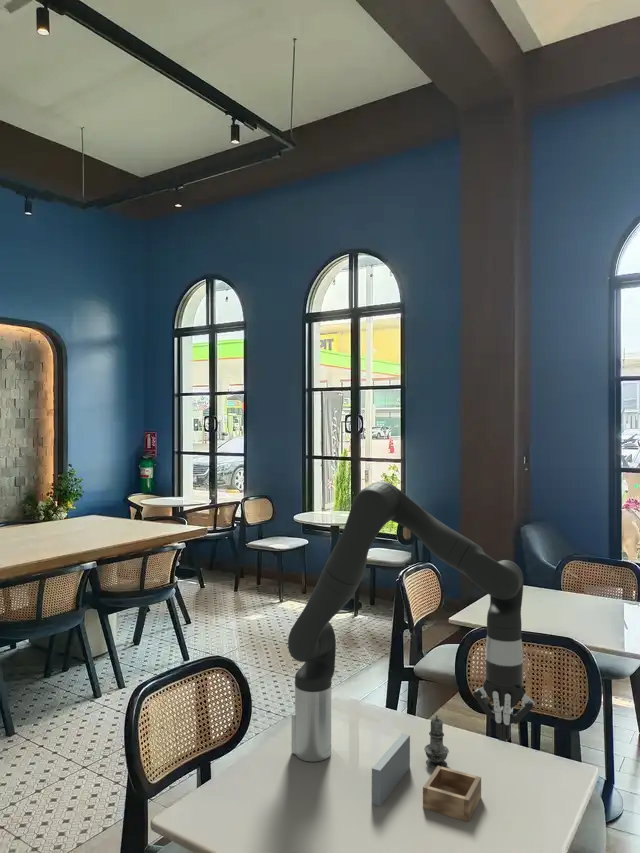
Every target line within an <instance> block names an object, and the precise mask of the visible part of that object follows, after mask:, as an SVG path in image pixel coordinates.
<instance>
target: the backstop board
mask: <svg viewBox="0 0 640 853" xmlns="http://www.w3.org/2000/svg"><path fill="white" fill-rule="evenodd" d="M410 768H411V735H410V734H406V733H403V732H402V733H401V734H400V735H399V736H398V737H397V739H396V740H395V741H394V742H393V743H392V744H391V746H389V748H388V749H387V750H386V751H385V752H384V753H383V755H382V756H381V757H380V758H379V759H378V760H377V761H376V763H375V764H374V765H373V766H372V767H371V805H374V806H376V807H382V805H383V803H384V802H385V801H386V800H387V799H388V797H389V796H390V795H391V793H392V792H393V790H394V789H395V788H396V786H398V784H399V782H401V780H402V779H403V778H404V776H405V775H406V773H407V772H408V771H409V769H410Z"/></svg>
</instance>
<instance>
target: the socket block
mask: <svg viewBox="0 0 640 853" xmlns="http://www.w3.org/2000/svg"><path fill="white" fill-rule="evenodd" d="M481 799H482V776H478V775H474V774H470V773H467V772H463V771H459V770H455V769H452V768H448V767H441V766H437V767H436V769H433V771H432V773H431V775H430V776H429V778H428V779H427V781H426V782H425V784H424V785H423V787H422V809H425V810H429V811H431V812H435V813H438V814H441V815H445V816H447V817H451V818H455V819H458V820H461V821H464V822H468V823H469V822H470V820H471V818H472V816H473V814H474V812H475V810H476V808H477V807H478V804H479V803H480V801H481Z"/></svg>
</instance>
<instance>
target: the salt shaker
mask: <svg viewBox="0 0 640 853" xmlns="http://www.w3.org/2000/svg"><path fill="white" fill-rule="evenodd" d="M434 716H435V717H434V718H432V719H431V720H430V731H429V732H428V735H429V737H430V738H429V739H430V740H429V741H430V742H429V744H427V745H425V746H424V752H425V755H426V758H427V760H425V764H426V766H427V767H428V768H431V769H433V770H435V769H436V767H437V766H441V767H445V768H447V766H448V762H447V761H446V759H447V758H448V754H449V753H450V751H449V748H448V747H447V746H445V745H444V737H445V733H444V732H443V727H444V726H443V720H441V719H440V718H439V716H438V715H434Z"/></svg>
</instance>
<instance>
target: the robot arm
mask: <svg viewBox="0 0 640 853" xmlns="http://www.w3.org/2000/svg"><path fill="white" fill-rule="evenodd" d="M389 522H393V523H396V524H398V525H400V526H402V527H404V528H406V529H407V530H408V531H410V532H411V533H412V534H414V535H415V536H416V537H417V538H418V540H420V542H421V543H422V544H423V545H424V546H425V547H426V548H427V549H428V551H430V553H432V554H433V555H434V556H435V557H436V558H438V559H439V560H440V561H442V562H443V563H445V564H446V565H449V566H450V567H452V568H453V569H455V570H457V571H458V572H460V573H462V574H463V575H465V577H467V578H468V579H469V580H470V581H471V582H472V583H474V584H475V585H476V586H477V587H478V588H480V589H481V590H482V591H483V592H484V593H486V594H488V595H490V596H489V599H490V600H489V601H490V602H489V603H490V604H489V607H488V610H487V615H486V639H485V680H484V682H483V685H482V686H481V687H477V688H476V689H475V691H474V692H473V697H474V699H475V700H476V701H477V703H478V704H479V707H481V708H480V709H482V710H483V712H484V713H485V715H486V717H487V718H488V719H493V720H494V722H495V735H496V737H497V738H498V741H499V742H500V741H501V742H505V743H506V742H508V741H509V740H510V738H511V736H512V725H513V724H515V725H518V723H520V721H522V719H523V718H524V717H525V716H526V715H528V713H529V712H530V711H532V709H534V706H535V704H536V701H535V699H534V698H530V697H529V696H528V695H527V694H526V689H525V688H524V685H523V684H524V683H523V680H524V679H523V678H524V677H523V675H524V674H523V673H524V672H523V670H524V669H523V667H524V666H523V663H524V662H523V659H524V652H523V642H522V603H523V594H524V593H523V592H524V575H523V570H522V569H521V567H520V566H518V564H517V563H515V562H514V561H512V560H509V559H503V560H499V561H497V560H495V559H493V557H491V556H489V555H488V554H487V553H485V551H484V548H482V547H481V546H480V545H479V544H477V543H475V541H473V540H471V539H469V538H467V537H466V536H464V535H463V534H461V533H459V532H458V531H455V530H454V529H452V528H451V527H449V526H447V525H446V524H444V523H443V522H442V521H440V520H439V519H437V518H435V517H434V516H433V515H432V514H431V513H429V512H428V511H426V510H425V509H424V508H422V506H420V505H419V504H417V503H416V502H415V501H414V500H412V499H411V498H410V497H409V496H408V495H407V494H405V493H404V492H403V491H402V490H400V489H399V488H398V487H397V486H395V485H394V484H392V483H390V482H388V481H384V480H383V481H381V480H380V481H376V482H373V483H371V484H369V485H368V486H366V487H364V488H363V489H361V490H360V491H359V492H358V493H357V495H356V496H355V498H354V499H353V502H352V504H351V507H350V510H349V514H348V516H347V519H346V522H345V525H344V528H343V530H342V533H341V534H340V536H339V539H338V540H337V542H336V544H335V545H334V547H333V550H332V551H331V553H330V555H329V557H328V559H327V561H326V563H325V566H324V568H323V569H322V571H321V574H320V576H319V578H318V581H317V583H316V585H315V587H314V589H313V591H312V593H311V594H310V597H309V598H308V600H307V603H306V604H305V606H304V608H303V610H302V611H301V613H300V614H299V616H298V617H297V619H296V621H295V622H294V624H293V625H292V628H291V629H290V630H289V631H290V632H289V634H288V638H287V648H288V652H289V654H290V656H291V657H292V659H293V660H295V661H297V662H300V663H304V664H303V665H302V666H300V668H299V669H298V670H297V671H296V673H295V676H294V713H293V714H291V751H290V752H291V754H294V755H295V756H296V757H297V758H298V759H299V760H302V761H305V762H314V763H315V762H321V761H324V760H326V759H328V758H329V757H330V756H331V754H332V679H333V677H334V675H335V670H336V667H335V666H336V651H337V647H336V646H337V644H336V643H337V641H336V640H337V639H336V633H335V631H334V627H333V625H332V624H331V623H330V621H331V619H333V618H334V617H335V616H336V615H337V614H338V613H339V612H340V611H341V610H342V609H343V608H344V607H345V606H346V605H347V604H348V603H349V602H350V600H351V599H352V598H353V597H354V595H355V593H356V592H357V590H358V588H359V586H360V584H361V581H362V580H363V578H364V575H365V572H366V567H367V562H368V556H369V555H368V553H369V551H370V548H371V547H372V544H373V543H374V541H375V540H376V538H377V536H378V534H379V533H380V531H381V530H382V529H383V527H385V525H386V524H388V523H389ZM488 698H489V699H488ZM521 700H522V702H521V708H520V709H518V711H517V712H516V713H515V714H513V711H514V708H515V707H516V706H517V705H518V703H519V702H520V701H521ZM492 704H493V705H492Z"/></svg>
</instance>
